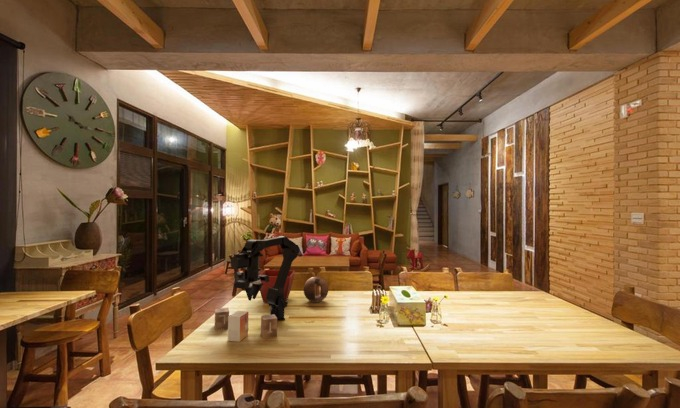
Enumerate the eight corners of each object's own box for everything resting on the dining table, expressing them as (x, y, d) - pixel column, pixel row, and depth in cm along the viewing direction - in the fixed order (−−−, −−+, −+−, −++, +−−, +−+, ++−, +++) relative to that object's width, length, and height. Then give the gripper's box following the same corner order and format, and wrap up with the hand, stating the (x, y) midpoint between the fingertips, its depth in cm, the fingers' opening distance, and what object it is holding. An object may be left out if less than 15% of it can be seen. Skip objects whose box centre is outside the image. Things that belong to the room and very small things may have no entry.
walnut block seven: (227, 324, 160) (228, 307, 160) (228, 328, 154) (229, 311, 154) (214, 325, 158) (215, 308, 158) (215, 330, 152) (215, 312, 152)
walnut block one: (274, 331, 151) (274, 314, 152) (276, 336, 146) (277, 318, 146) (260, 333, 149) (261, 315, 149) (263, 338, 143) (263, 320, 144)
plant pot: (289, 305, 192) (289, 276, 192) (256, 304, 192) (257, 275, 193) (294, 296, 211) (294, 270, 212) (264, 296, 212) (264, 269, 212)
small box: (239, 342, 139) (240, 317, 139) (227, 340, 140) (227, 315, 140) (248, 335, 147) (249, 311, 147) (236, 334, 148) (237, 310, 148)
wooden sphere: (306, 297, 209) (307, 274, 210) (330, 299, 207) (330, 275, 208) (300, 304, 195) (301, 278, 195) (325, 306, 192) (326, 280, 193)
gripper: (252, 262, 169) (251, 293, 168) (225, 267, 152) (224, 302, 152) (270, 264, 164) (269, 296, 164) (244, 270, 147) (243, 305, 147)
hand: (251, 299), depth 157 cm, fingers open, 3 cm apart
